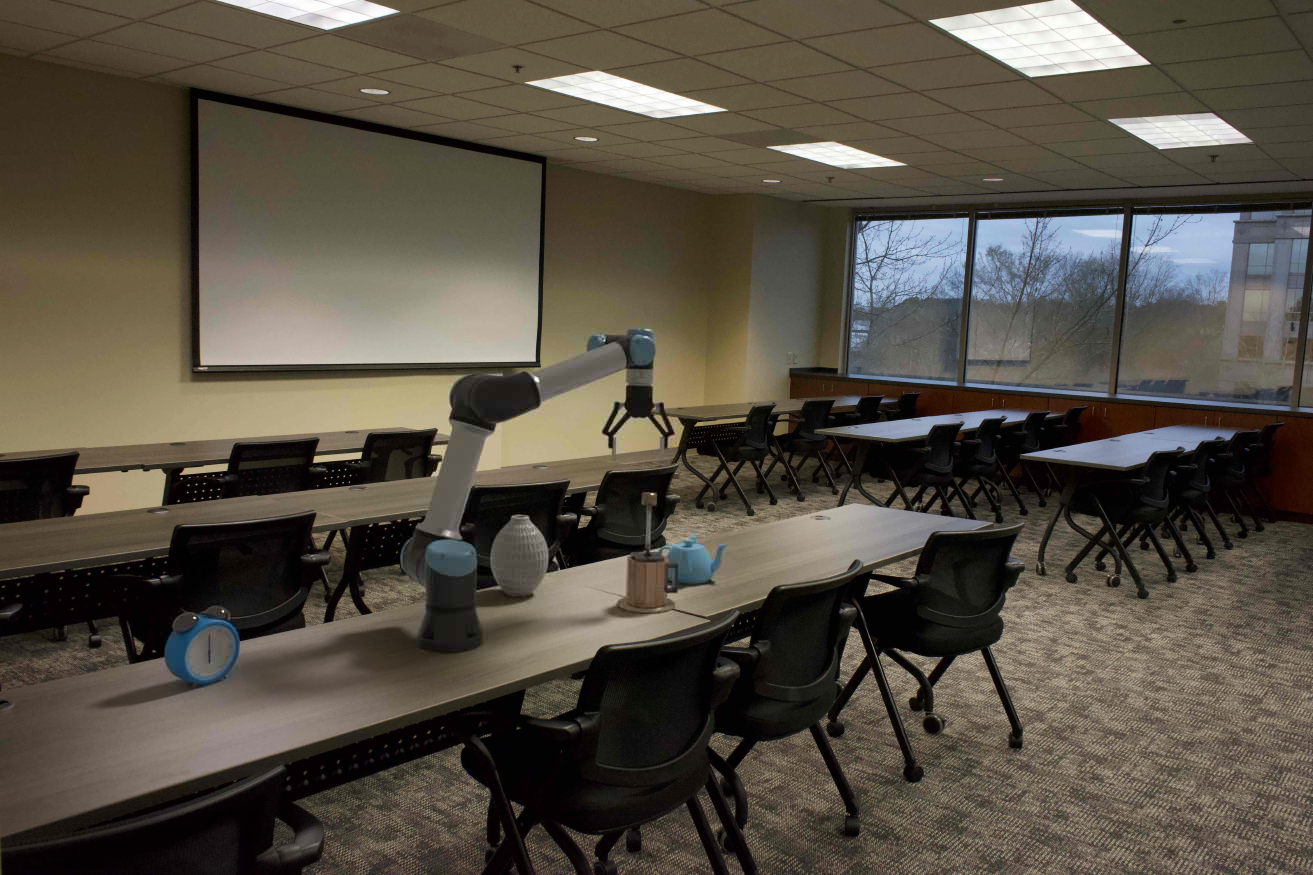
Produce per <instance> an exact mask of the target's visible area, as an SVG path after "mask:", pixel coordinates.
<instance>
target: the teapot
mask: <svg viewBox="0 0 1313 875" xmlns="http://www.w3.org/2000/svg"><path fill="white" fill-rule="evenodd" d="M697 538H698V534H697V533H693V534H691V538H688V539H687V538H686V539H684V540H683V542H682V543H676V544H674V545H673V546H670V545H664V546H662V547H660V548H659V550H658V552H659V553H660V554H661V555H662V556H663V551H664V550H669V552H668V553H667V555H666V557H667V558H668V563H678V584H679V583H683V584H682V585H701V584H700V583H702V584H705V582H706V583H707V581H708V582H709V581H710V579H712V577H713V576H714V574H715V572H717V571H718V570H719V569H720V567H721V565H722V556H723V551H724V549H725V548H726V547H727V546H728V545H729V543H723V544H720V545H718V547H717V549H716V554H715V558H714V559H713V560H712V558H711V556H710V554H709V553H708V551H707V549H706V548H705V546H704V545H702V544H699V543H697ZM669 580H670V581H669ZM668 581H669V582H671V581H672V582H671V583H673V568H668Z"/></svg>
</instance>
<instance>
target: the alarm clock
mask: <svg viewBox="0 0 1313 875" xmlns="http://www.w3.org/2000/svg"><path fill="white" fill-rule="evenodd" d="M230 619H231V614H230V612H229V611H228V610H227V609H226V608H225V607H223V605H220V606H219V605H212V606H210V607H208V608H207V609H206V610H205V611H201V612H199V615H198V614H196V613H194V612H189V611H188V612H185V613H182V614H180V615H178V616H177V617H175V620H173V623H172V629H173V630H172V632H171V633H170V635H169V637H168V638H167V640H166V643H165V648H164V654H163V655H164V662H165V665H166V667H167V669H168V671H169V672H170V673H171V674H172V675H174V677H176V678H178V679H181V680H183V681H187V682H189V683H192V684H193V686H192V689H195V688H196V687H197V685H209V684H210V685H211V684H213V683H215V682H217V681H219V680H220V679H222V678H223V679H227V678H226V675H227V674H228V673H229V672H230V671H231V670H232V668H234V667H233V666H235V664H236V661H237V660H238V657H239V654H240V649H241V648H240V647H241V642H240V636H239V634H238V631H237V630H236V628H235V627H234V626H233V625H232V624H231V623H230V622H227V621H230Z"/></svg>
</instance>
